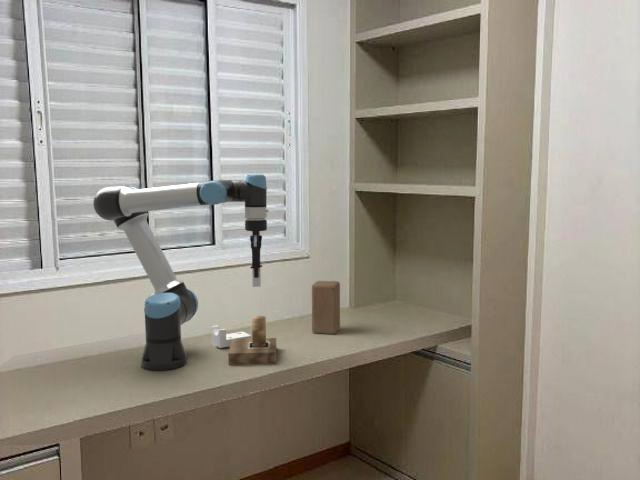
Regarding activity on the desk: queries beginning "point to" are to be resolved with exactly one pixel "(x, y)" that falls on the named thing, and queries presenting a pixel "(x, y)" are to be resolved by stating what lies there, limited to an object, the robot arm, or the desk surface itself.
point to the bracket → (225, 337)
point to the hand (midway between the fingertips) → (256, 286)
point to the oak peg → (258, 331)
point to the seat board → (252, 352)
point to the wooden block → (326, 307)
